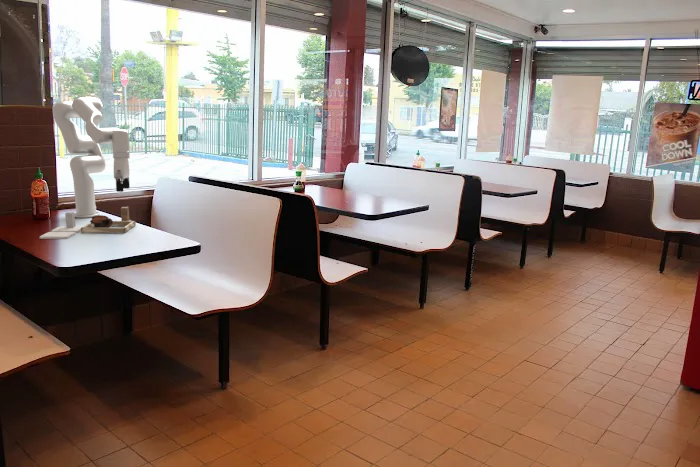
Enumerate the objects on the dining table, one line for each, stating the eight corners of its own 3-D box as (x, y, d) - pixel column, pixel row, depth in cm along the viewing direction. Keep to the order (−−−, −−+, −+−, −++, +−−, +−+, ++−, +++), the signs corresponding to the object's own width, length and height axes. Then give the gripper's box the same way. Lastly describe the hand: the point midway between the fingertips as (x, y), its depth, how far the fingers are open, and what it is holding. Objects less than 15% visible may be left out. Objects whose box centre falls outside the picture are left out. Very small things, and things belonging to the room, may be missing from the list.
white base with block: (59, 228, 284) (58, 212, 282) (85, 228, 285) (83, 212, 283) (39, 238, 263) (37, 221, 262) (67, 238, 264) (65, 221, 262)
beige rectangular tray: (98, 222, 298) (97, 206, 297) (139, 222, 299) (138, 206, 298) (80, 232, 275) (79, 215, 274) (124, 232, 277) (123, 215, 275)
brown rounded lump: (85, 233, 278) (85, 216, 280) (99, 238, 286) (99, 221, 289) (106, 228, 275) (107, 211, 277) (120, 233, 283) (120, 217, 286)
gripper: (119, 153, 298) (120, 186, 302) (107, 156, 281) (109, 192, 285) (134, 153, 298) (136, 187, 302) (123, 157, 282) (125, 193, 286)
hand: (123, 189), depth 294 cm, fingers open, 9 cm apart
